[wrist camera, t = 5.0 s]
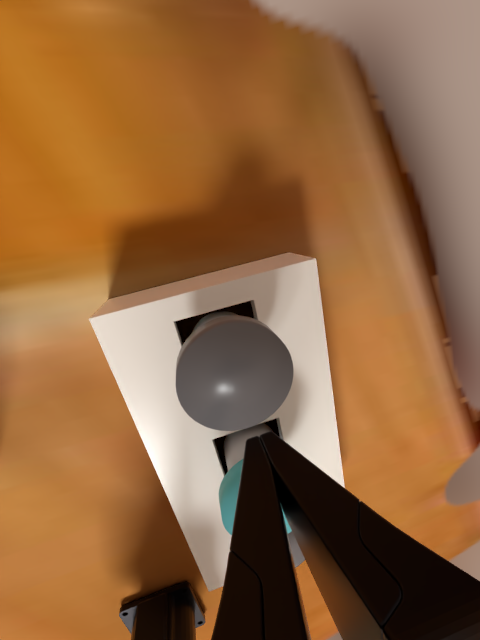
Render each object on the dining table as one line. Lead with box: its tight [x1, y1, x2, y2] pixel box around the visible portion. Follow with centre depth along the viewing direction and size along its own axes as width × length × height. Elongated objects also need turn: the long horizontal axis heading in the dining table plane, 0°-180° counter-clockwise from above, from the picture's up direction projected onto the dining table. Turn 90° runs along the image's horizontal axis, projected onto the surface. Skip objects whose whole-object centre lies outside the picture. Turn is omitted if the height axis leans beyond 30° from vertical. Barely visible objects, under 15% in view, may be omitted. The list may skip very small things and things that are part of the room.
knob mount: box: [89, 252, 345, 591], centre depth 20 cm, size 23×12×4 cm, turn 13°
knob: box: [176, 311, 294, 431], centre depth 14 cm, size 5×5×5 cm
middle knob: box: [219, 423, 292, 535], centre depth 17 cm, size 5×5×5 cm
